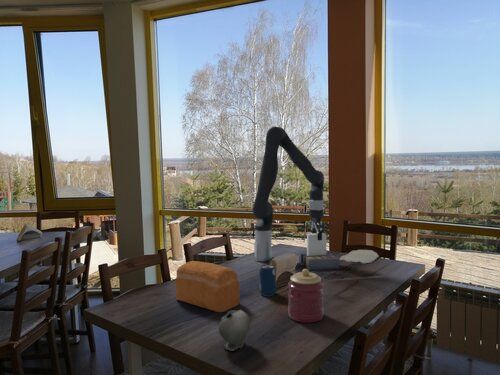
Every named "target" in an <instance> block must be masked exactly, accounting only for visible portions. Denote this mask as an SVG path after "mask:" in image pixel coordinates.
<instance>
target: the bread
mask: <svg viewBox="0 0 500 375" xmlns="http://www.w3.org/2000/svg"><path fill="white" fill-rule="evenodd" d="M239 285H240V283H239V280H238V273H237V272H235V270H233V269H231V268H229V267H227V266H223V265H220V264H216V263H211V262H205V261H199V260H198V261H197V260H190V261H187V262H185V263H183V264H181V265H180V266H179V267H177V269H176V277H175V280H174V287H175V298H176V300H178V301H181V302H184V303H187V304H190V305H192V306H193V305H194V306H196V307H200V308H203V309H206V310H209V311H213V312H217V313H223V312H228V311H230V310H231V309H233V308H235V307H237V306H239V304H240V298H241V297H240V296H241V295H240V286H239Z"/></svg>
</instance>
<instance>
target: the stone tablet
mask: <svg viewBox="0 0 500 375" xmlns="http://www.w3.org/2000/svg"><path fill="white" fill-rule="evenodd" d="M378 258H380V257H379V254H378V253H377V252H376V251H374V250H371V249H357V250H351V251H350V252H348V253H347V254H343V255H342V256H340V257H339V261H345V262H351V263H352V262H354V263H358V262H360V263H362V264H363V265H366V263H367V264H371V263H373V262H374V261H376V260H377V259H378Z"/></svg>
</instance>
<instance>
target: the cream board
mask: <svg viewBox="0 0 500 375" xmlns="http://www.w3.org/2000/svg"><path fill="white" fill-rule="evenodd" d="M326 252H327V233H325V232H323V233H322V240H318V239H317V232H316V233H315V234H312V233H307V234H306V253H307V256H312V255H326Z"/></svg>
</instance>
